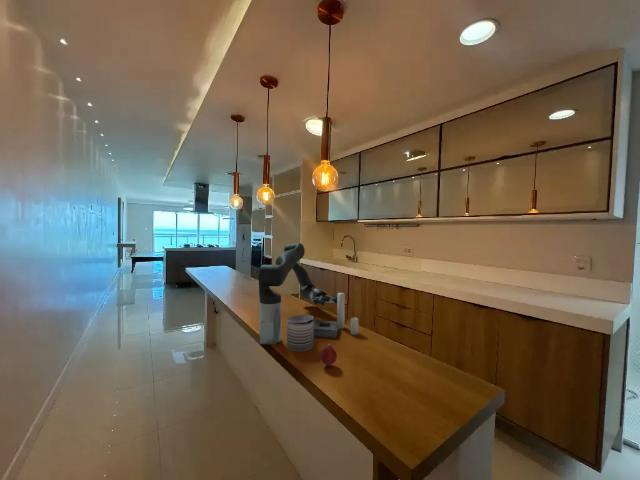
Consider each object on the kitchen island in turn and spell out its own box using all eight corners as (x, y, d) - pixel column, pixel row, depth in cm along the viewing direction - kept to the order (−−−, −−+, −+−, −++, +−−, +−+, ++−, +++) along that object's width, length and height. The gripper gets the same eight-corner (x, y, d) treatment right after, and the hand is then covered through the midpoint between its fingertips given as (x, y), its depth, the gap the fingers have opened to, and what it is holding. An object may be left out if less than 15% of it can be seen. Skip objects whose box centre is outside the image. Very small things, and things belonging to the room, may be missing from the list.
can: (301, 354, 108) (301, 324, 108) (280, 346, 115) (280, 318, 115) (319, 344, 117) (319, 316, 117) (298, 338, 124) (299, 311, 124)
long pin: (344, 328, 136) (344, 294, 136) (336, 328, 137) (337, 294, 136) (344, 326, 140) (344, 292, 139) (337, 325, 140) (337, 292, 140)
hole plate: (335, 337, 125) (335, 330, 125) (309, 336, 127) (309, 328, 127) (338, 328, 137) (338, 321, 136) (314, 326, 139) (314, 320, 138)
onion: (322, 370, 96) (323, 348, 95) (318, 363, 101) (318, 341, 101) (338, 368, 97) (339, 346, 97) (333, 361, 103) (333, 340, 102)
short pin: (358, 335, 128) (358, 320, 128) (350, 334, 129) (350, 319, 129) (358, 332, 132) (358, 317, 132) (350, 331, 132) (350, 317, 132)
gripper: (307, 290, 159) (318, 297, 145) (329, 288, 165) (342, 294, 151) (307, 303, 160) (318, 311, 145) (329, 301, 166) (342, 308, 151)
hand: (330, 302), depth 148 cm, fingers open, 8 cm apart
